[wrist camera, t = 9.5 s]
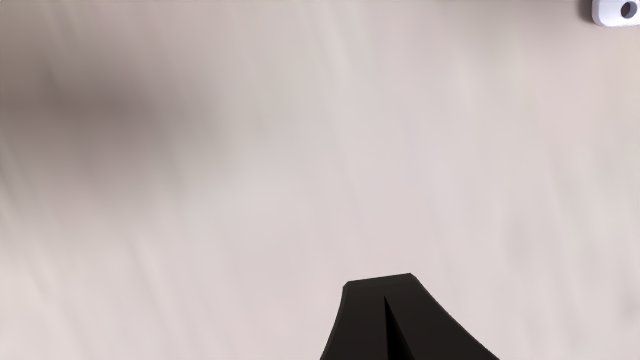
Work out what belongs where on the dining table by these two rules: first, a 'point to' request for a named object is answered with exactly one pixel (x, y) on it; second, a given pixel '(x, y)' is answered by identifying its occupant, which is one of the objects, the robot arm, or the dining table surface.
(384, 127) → the dining table surface
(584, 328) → the dining table surface
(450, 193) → the dining table surface
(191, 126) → the dining table surface
